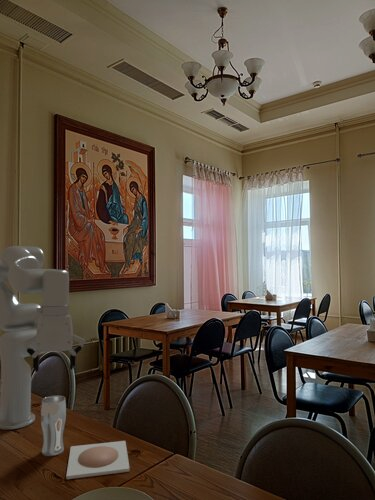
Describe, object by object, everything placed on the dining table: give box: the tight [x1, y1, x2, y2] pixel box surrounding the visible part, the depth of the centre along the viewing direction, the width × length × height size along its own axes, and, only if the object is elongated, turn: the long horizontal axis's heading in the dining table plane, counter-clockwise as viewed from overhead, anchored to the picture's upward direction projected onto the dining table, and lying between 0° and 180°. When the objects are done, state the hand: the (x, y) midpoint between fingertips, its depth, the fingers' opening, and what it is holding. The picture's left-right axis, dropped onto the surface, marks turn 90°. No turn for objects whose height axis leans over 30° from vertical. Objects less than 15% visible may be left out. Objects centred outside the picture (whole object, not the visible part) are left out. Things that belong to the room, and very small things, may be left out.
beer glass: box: [40, 395, 67, 457], centre depth 110 cm, size 7×7×15 cm
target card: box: [65, 440, 131, 480], centre depth 105 cm, size 16×16×1 cm
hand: (54, 369), depth 111 cm, fingers open, 9 cm apart
